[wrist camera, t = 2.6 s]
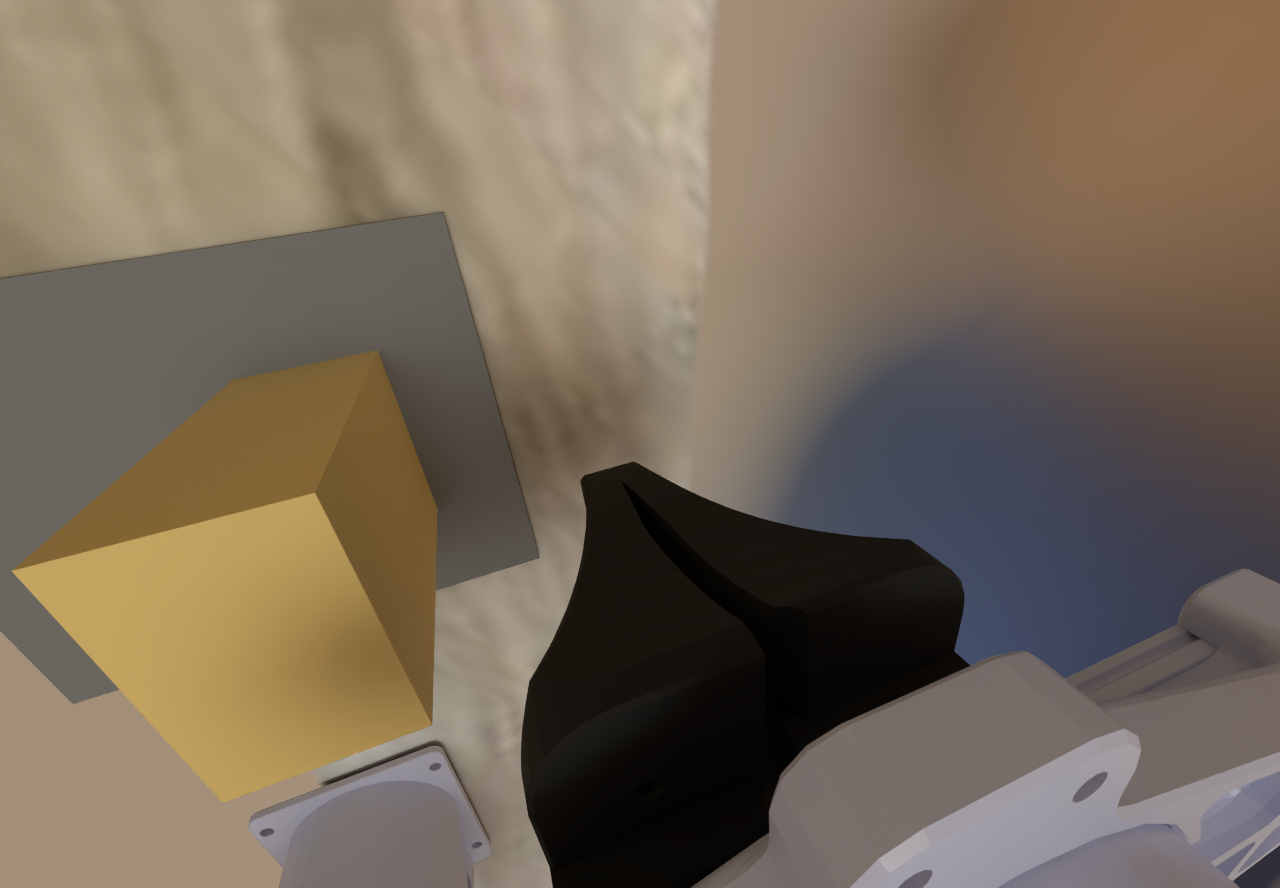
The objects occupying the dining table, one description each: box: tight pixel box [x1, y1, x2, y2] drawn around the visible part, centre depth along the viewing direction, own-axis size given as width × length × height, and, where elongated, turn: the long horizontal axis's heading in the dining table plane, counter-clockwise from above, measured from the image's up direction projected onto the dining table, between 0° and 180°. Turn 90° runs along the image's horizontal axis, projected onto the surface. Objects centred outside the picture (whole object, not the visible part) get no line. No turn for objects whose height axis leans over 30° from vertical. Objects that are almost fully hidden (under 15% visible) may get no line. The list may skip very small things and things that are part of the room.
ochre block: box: [12, 350, 438, 802], centre depth 13 cm, size 6×4×9 cm, turn 7°
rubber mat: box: [0, 212, 540, 704], centre depth 16 cm, size 13×16×1 cm
